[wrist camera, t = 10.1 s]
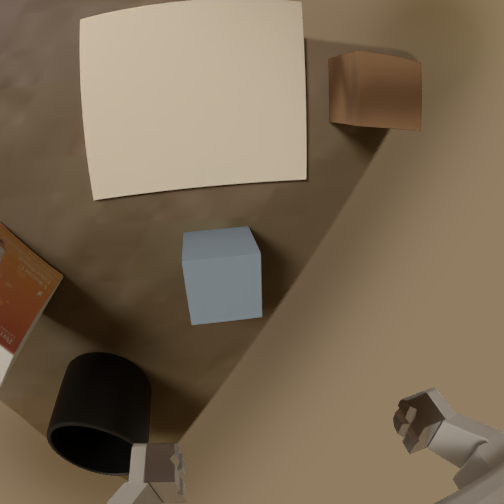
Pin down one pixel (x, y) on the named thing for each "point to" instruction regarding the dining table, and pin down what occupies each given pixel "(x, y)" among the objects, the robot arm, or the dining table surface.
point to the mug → (100, 413)
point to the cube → (222, 275)
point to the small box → (20, 295)
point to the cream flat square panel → (193, 95)
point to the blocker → (375, 91)
